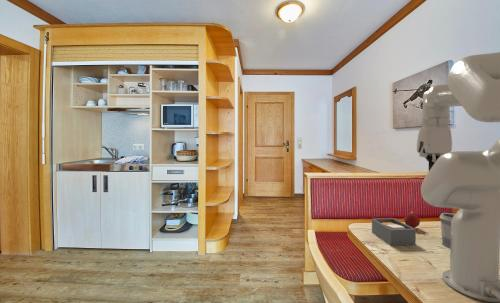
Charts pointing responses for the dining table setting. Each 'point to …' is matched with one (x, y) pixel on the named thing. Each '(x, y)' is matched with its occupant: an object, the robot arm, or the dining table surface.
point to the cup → (446, 228)
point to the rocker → (393, 226)
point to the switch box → (394, 232)
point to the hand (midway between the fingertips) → (434, 172)
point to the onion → (411, 220)
